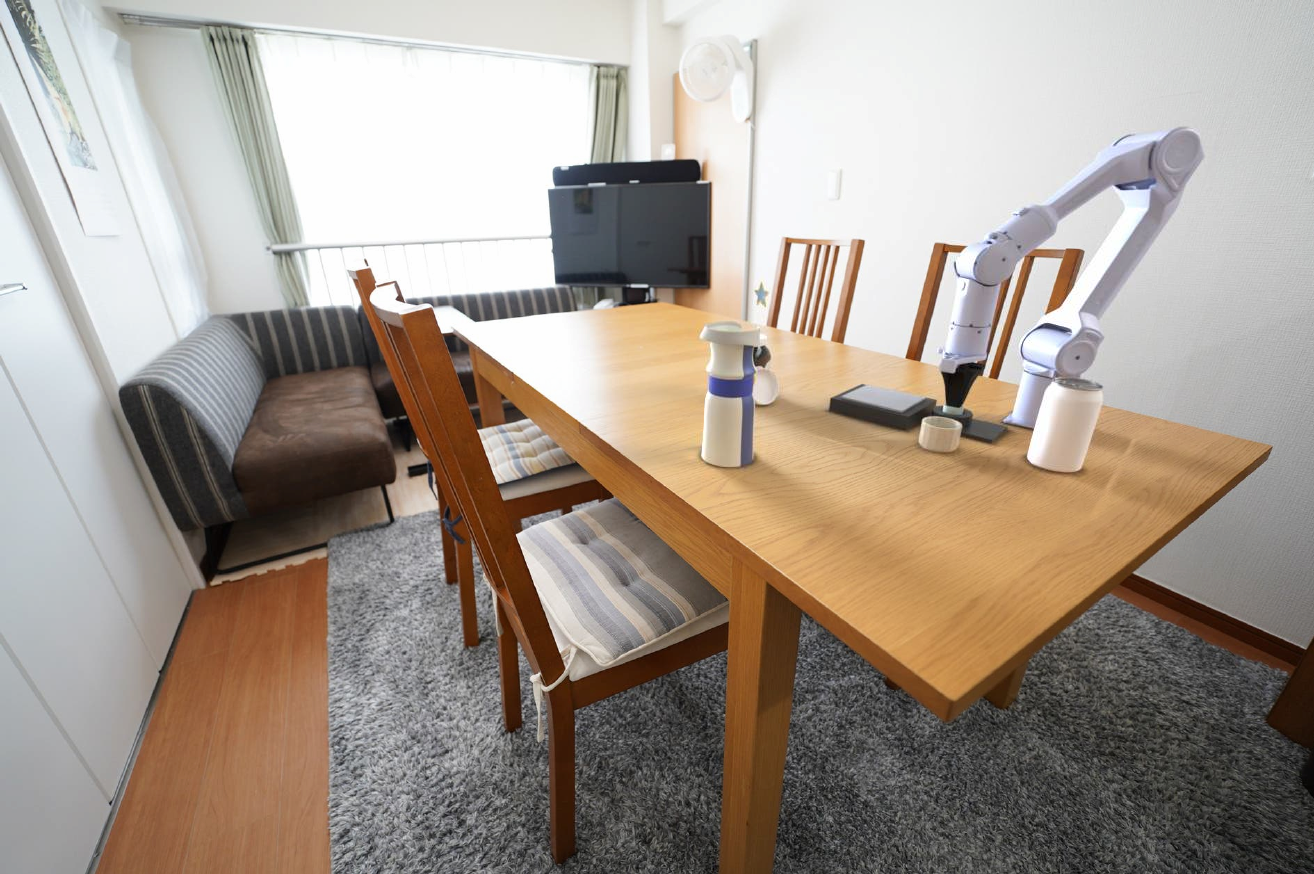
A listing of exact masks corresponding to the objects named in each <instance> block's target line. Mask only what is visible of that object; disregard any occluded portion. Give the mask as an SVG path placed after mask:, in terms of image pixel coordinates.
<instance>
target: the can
mask: <svg viewBox="0 0 1314 874" xmlns="http://www.w3.org/2000/svg"><path fill="white" fill-rule="evenodd" d="M1103 389H1104V385H1103V384H1101V383H1099V382H1096V381H1093V380H1092V381H1089V380H1084V379H1077V378H1054V379H1052V383H1051V384H1050V386H1049V387H1048V388H1047V389H1046V390H1045V393H1044V396H1043V400H1042V403H1041V407H1040V410H1039V414H1038V418H1037V421H1036V425H1035V428H1034V429H1033V433H1032V436H1031V439H1030V444H1029V448H1028V451H1027V454H1026V458H1027V460H1028V461H1029V463H1031V464H1032V465H1033V466H1035V467H1037V468H1040V469H1042V470H1046V471H1049V472H1053V473H1054V472H1055V473H1060V474H1061V473H1062V474H1073V473H1077V472H1078V471H1080V470H1082V467H1083V465H1084V463H1085V459H1086V456H1087V453H1088V450H1089V447H1090V443H1091V440H1092V437H1093V436H1094V435H1093V434H1094V432H1095V428H1096V425H1097V422H1098V419H1099V416H1100V413H1101V409H1102V406H1103V403H1104V393H1103Z"/></svg>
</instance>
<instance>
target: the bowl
mask: <svg viewBox="0 0 1314 874" xmlns="http://www.w3.org/2000/svg"><path fill="white" fill-rule="evenodd" d="M920 423H921V424H920V428H919V434H918V439H917V441H918V444H919V446H920V447H921V448H923V449H925V450H928V451H929V452H934V453H943V454H944V453H946V454H947V453H951V452H954V451H955V450H957V449H958V447H959V444H960V439H961V436H960V435H961V430H962V424H961V423H960V422H958V421H956V420H953V419H950V418H945V417H931V416H929V417H925V418H924V419H922V421H921V422H920Z"/></svg>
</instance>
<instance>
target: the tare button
mask: <svg viewBox="0 0 1314 874" xmlns="http://www.w3.org/2000/svg"><path fill="white" fill-rule="evenodd" d="M943 405H944V406H943V411H942V412H944V413H947V414H951V415H962V414H963V409H964V408H965V406H964V405H962V406H961V407H960V408H956V407H951V406H947V405H946V402H944V403H943Z"/></svg>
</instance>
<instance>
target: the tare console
mask: <svg viewBox="0 0 1314 874" xmlns="http://www.w3.org/2000/svg"><path fill="white" fill-rule="evenodd" d="M943 406H944V404H942V405H936V407H934V408H933V409H932V414H931V416H930V417H945V418H950V419H953V420H956V421H958V422H960V423H961V424H962V430H961V435H960V437H964V438H969V439H973V440H976V441H980V442H984V443H989V444H992V443H994V442H995V441H996V440H997V439H999V437H1000V436H1002V435H1003V434H1004V433H1005V432H1006V431H1007V430H1008V426H1007V425H1003V424H999V423H994V422H990V421H985V420H981V419H977V418H974V413H973V412H972V411H971V410H969V409H967V408H965V407H964V409H963V414H962V415H951V414H947V413H944V412H942V411H943Z"/></svg>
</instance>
